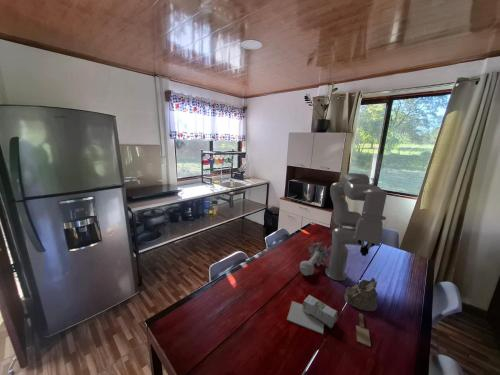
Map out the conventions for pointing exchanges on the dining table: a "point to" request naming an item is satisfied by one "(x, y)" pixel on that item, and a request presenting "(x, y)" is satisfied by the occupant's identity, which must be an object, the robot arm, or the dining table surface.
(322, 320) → the syrup box
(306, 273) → the flower vase
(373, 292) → the ceramic cottage
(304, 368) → the dining table surface
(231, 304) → the dining table surface
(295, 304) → the mat
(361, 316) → the turner
